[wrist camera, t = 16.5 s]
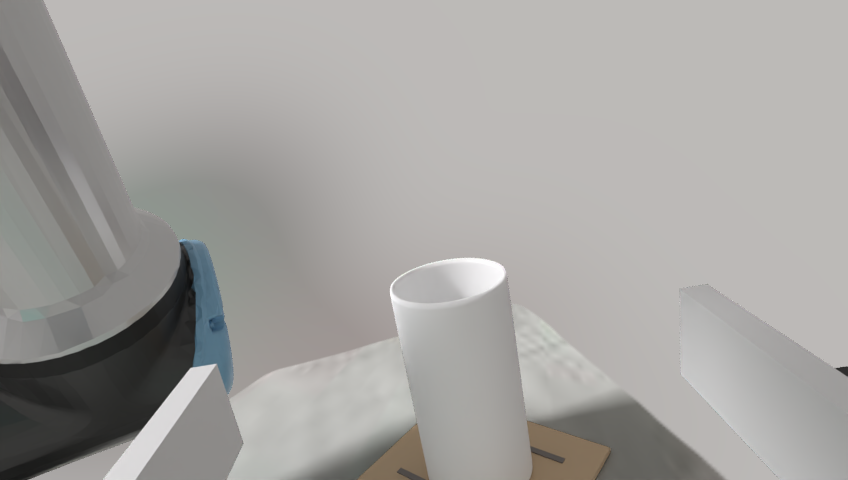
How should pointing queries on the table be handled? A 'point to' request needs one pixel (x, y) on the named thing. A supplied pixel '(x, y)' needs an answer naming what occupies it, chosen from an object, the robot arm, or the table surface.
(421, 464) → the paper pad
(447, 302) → the cup
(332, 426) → the table surface
